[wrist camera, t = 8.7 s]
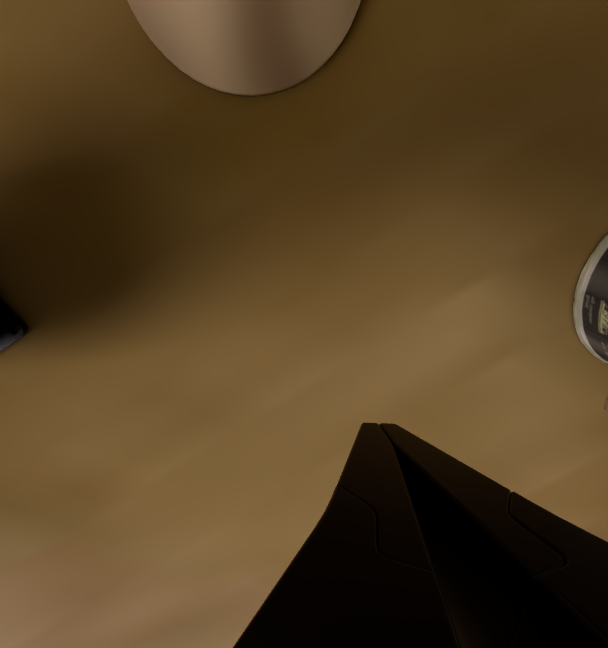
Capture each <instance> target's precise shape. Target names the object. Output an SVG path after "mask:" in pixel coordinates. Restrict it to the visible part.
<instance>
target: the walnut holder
mask: <svg viewBox="0 0 608 648" xmlns="http://www.w3.org/2000/svg"><path fill="white" fill-rule="evenodd" d="M604 409H605V410H607V411H608V398H607V401H606V404H605V407H604Z"/></svg>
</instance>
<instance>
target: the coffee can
mask: <svg viewBox="0 0 608 648" xmlns="http://www.w3.org/2000/svg"><path fill="white" fill-rule="evenodd" d="M573 318H574V324H575V328H576V332H577V334H578V336H579V338H580V340H581V342H582V343H583V345H584V346H585V347H586V348H587V349H588V351H589V352H591V353H592V354H593V355H594V356H595V357H596V358H598V359H600V360H601V361H604V362H606V363H608V234H607V235H606V236H605V237H604V238H603V239H602V240H601V241H600V243H599V244H598V246H597V247H596V249H595V250H594V252H593V253H592V254H591V256H590V257H589V259H588V261H587V262H586V264H585V266H584V268H583V270H582V272H581V275H580V277H579V280H578V283H577V286H576V290H575V295H574V301H573Z"/></svg>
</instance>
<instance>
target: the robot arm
mask: <svg viewBox="0 0 608 648" xmlns="http://www.w3.org/2000/svg"><path fill="white" fill-rule="evenodd" d="M13 326H15V327H16V328H17V329H18V332H17V331H15V330H14V328H13ZM27 332H28V327H27V325H26V323H25V322H24V321H23V320H22V319H21V318H20V317H19V316H18V315H17V314H16V313H15V312H14V311H13V310H12V309H11V308H10V307H9V306H8V305H7V304H6V303H5V302H4V301H3V300H2V299H1V298H0V352H1V351H2V350H4V349H5V348H6V347H8V346H9V345H11V344H12V343H14V342H15V341H17V340H18V339H20V338H21V337H23V336H24V335H26V333H27ZM233 648H608V542H607V541H605V540H603V539H601V538H599V537H597V536H595V535H593V534H591V533H589V532H587V531H585V530H583V529H581V528H579V527H577V526H575V525H573V524H572V523H570V522H568V521H566V520H564V519H562V518H560V517H558V516H556V515H554V514H553V513H551V512H549V511H547V510H545V509H544V508H542V507H540V506H538V505H536V504H535V503H533V502H531V501H529V500H527V499H526V498H524V497H522V496H521V495H519V494H517V493H515V492H511V491H510V490H509V489H507V488H505V487H504V486H502V485H500V484H499V483H497V482H495V481H493V480H492V479H490V478H488V477H486V476H485V475H483V474H481V473H479V472H478V471H476V470H474V469H472V468H471V467H469V466H467V465H466V464H464V463H462V462H460V461H459V460H457V459H455V458H453V457H452V456H450V455H448V454H446V453H445V452H443V451H441V450H440V449H438V448H436V447H434V446H433V445H431V444H429V443H427V442H426V441H424V440H422V439H420V438H419V437H417V436H415V435H414V434H412V433H410V432H408V431H407V430H405V429H403V428H401V427H400V426H398V425H396V424H388V423H381V424H377V423H362V425H361V427H360V430H359V432H358V434H357V437H356V439H355V442H354V444H353V447H352V449H351V452H350V454H349V457H348V459H347V462H346V464H345V467H344V469H343V472H342V474H341V476H340V479H339V481H338V484H337V486H336V488H335V490H334V493H333V495H332V497H331V500H330V502H329V504H328V506H327V508H326V510H325V512H324V513H323V515H322V517H321V518H320V520H319V522H318V523H317V525H316V527H315V528H314V530H313V531H312V532H311V534H310V535H309V537H308V538H307V540H306V541H305V543H304V544H303V546H302V547H301V549H300V550H299V551H298V553H297V554H296V556H295V557H294V559H293V560H292V562H291V563H290V565H289V566H288V568H287V569H286V571H285V572H284V573H283V575H282V576H281V578H280V579H279V581H278V582H277V584H276V585H275V587H274V588H273V590H272V591H271V593H270V594H269V595H268V597H267V598H266V600H265V601H264V603H263V604H262V606H261V607H260V609H259V610H258V612H257V613H256V614H255V616H254V617H253V619H252V620H251V622H250V623H249V625H248V626H247V628H246V629H245V631H244V632H243V634H242V635H241V636H240V638H239V639H238V641H237V642H236V644H235V645H234V647H233Z"/></svg>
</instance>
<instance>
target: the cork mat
mask: <svg viewBox="0 0 608 648" xmlns="http://www.w3.org/2000/svg"><path fill="white" fill-rule="evenodd" d="M127 1H128V3H129V6H130V8H131V10H132V11H133V13H134V15H135V17H136V19H137V20H138V22H139V24H140V26H141V27H142V28H143V30H144V31H145V33H146V34H147V35H148V37H149V38H150V40H151V41H152V42H153V43H154V44H155V46H156V47H157V48H158V49H159V50H160V51H161V52H162V53H163V55H164V56H165V57H166V58H167V59H168V60H170V61H171V62H172V63H173V64H174V65H175V66H176V67H177V68H179V69H180V70H181V71H182V72H184V73H185V74H187V75H188V76H189V77H191V78H192V79H194V80H195V81H197V82H199V83H201V84H203V85H205V86H207V87H209V88H212V89H215V90H217V91H220V92H223V93H227V94H232V95H237V96H263V95H270V94H274V93H278V92H282V91H284V90H286V89H289V88H291V87H294V86H296V85H297V84H299V83H301V82H302V81H304V80H306V79H307V78H309V77H310V76H311V75H313V74H314V73H315V72H316V71H317V70H319V69H320V68H321V67H322V66H323V65H324V64H325V63H326V62H327V61H328V60H329V58H330V57H331V56H332V55H333V54H334V52H335V51H336V50H337V48H338V47H339V45H340V44H341V43H342V41H343V39H344V37H345V36H346V34H347V32H348V30H349V28H350V27H351V24H352V22H353V20H354V17H355V15H356V12H357V10H358V7H359V5H360V2H361V0H127Z"/></svg>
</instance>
